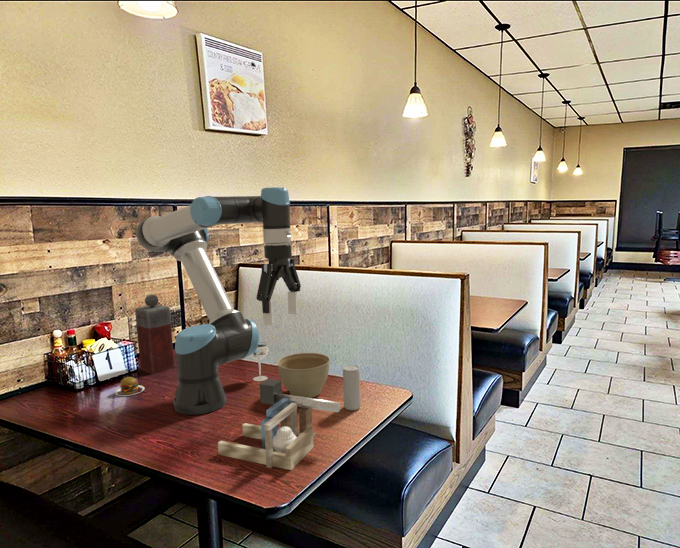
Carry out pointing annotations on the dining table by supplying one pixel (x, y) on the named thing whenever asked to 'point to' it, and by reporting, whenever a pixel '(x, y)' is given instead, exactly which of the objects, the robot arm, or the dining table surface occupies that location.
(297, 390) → the planter bowl
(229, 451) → the beige open frame
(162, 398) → the dining table surface
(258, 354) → the wineglass
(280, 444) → the white lumpy mound
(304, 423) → the cream cubby shelf
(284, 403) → the hammer
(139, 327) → the red decanter
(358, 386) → the beverage can
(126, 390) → the hamburger
